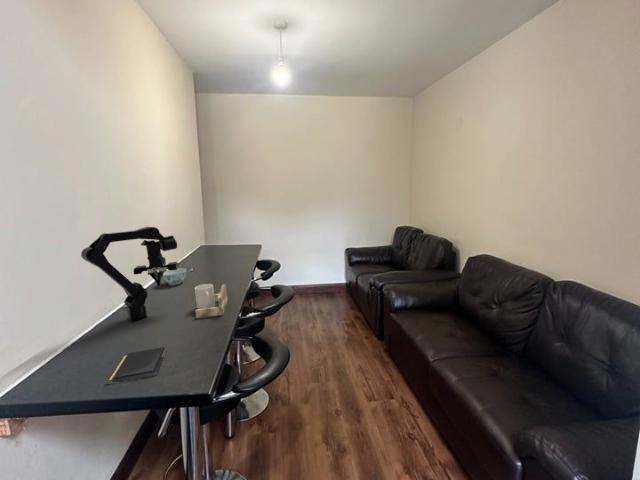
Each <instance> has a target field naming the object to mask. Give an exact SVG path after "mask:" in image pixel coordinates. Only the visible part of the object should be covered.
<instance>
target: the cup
mask: <svg viewBox="0 0 640 480" xmlns="http://www.w3.org/2000/svg"><path fill="white" fill-rule="evenodd" d="M194 292H195V294H194V295H195V301H196V306H197V308H196V309H204V308H212V307H216V302H215V297H214V294H215V291H214V285H213V284H212V283H204V284H199V285H197V286H195V287H194Z"/></svg>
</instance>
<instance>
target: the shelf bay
mask: <svg viewBox="0 0 640 480" xmlns="http://www.w3.org/2000/svg"><path fill="white" fill-rule="evenodd" d="M227 293H228V291H227V285H226V283H225V284H224V283H223V284H221V287H220V291H219V293H214V297H215V303H216V302H217V301H218V302H217V303H218V306H214V307H212V308H204V309H198V308H196V309H195V310H194V311H195V317H196V319H201V318H202V319H203V318H209V317H216V316H224V315H225V309H226V307H227V306H226V305H227V302H228V294H227Z"/></svg>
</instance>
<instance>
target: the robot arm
mask: <svg viewBox="0 0 640 480" xmlns="http://www.w3.org/2000/svg"><path fill="white" fill-rule="evenodd" d="M132 240H143V241H142V242H141V243H140V246H144V247H145V248H146V253H147V254H146V255H147V260H148V266H146V265H145V264H144V265H137V266H136V267H134V268H133V269H132V270H133V275H140V274H141V275H142V273H143V272H147V275H148V276H149V275H150V277H151V278H152V279H153V280H154V282H155V283H156V285H157V286H161V285H162V281H163V280H162V276H163V273H164V272H165V271H166V270H169V271H170V270H176V269H178V268H180V265H179V264H180V263H179V262H178V261H172V262H168V263H167V262H166V257H164V256H163V254H162V251H163V252H168V251H172V250H176V249H177V248H178V242H177V240H176V238H175V236H174V235H168V236H164V235H163V234H162V233H161V232H160V229H158V227H156V226H155V227H154V226H145V227H141V228H138V229H135V230H130V231H129V230H128V231H118V232H110V233H102V234H100V235H99V237H97V239H95V240H94V241H92V243H91V244H89V245H88V246H87V247H85V248H83V249H82V251H81V253H80V254H81V258H82V259H83V260H84V261H86V262H88V263H89V264H91V265H93V266H94V267H97V268H99V269H100V270H101V271H102V272H103V273H105V274H106V276H108V277H109V278H110V279H111V280H113V281H114V282H115V283H116V284H117V285H119V286H120V287H121V288H122V290H123V291H124V292H125V294H126V295H127V296H126V298H125V299H124V301H123V302H124V304H125V306H126V311H127V316H128V317H127V318H126V319H127V320H128V321H130V322H131V323H132V322H136V321H140V320H143V319H146V318H148V315H147V313H148V312H147V308H146V306H145V303H146V299H147V298H148V291H147V288H145V287H143V285H142V284H141V283H139V282H136V281H135V282H132V281H130V279H128V278H127V277H126V276H125V275H124V274H122V273H121V271H119V269H117V268H116V267H114V266H113V264H111V263H110V262H109V260H108V259H107V256H106V255H105V254H104V253H105V251H106V250H107V249H108V247H109V245H110V244H111V243H115V242H125V241H132ZM166 263H167V264H166Z"/></svg>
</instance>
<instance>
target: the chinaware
mask: <svg viewBox="0 0 640 480" xmlns="http://www.w3.org/2000/svg"><path fill="white" fill-rule="evenodd" d="M186 274H187V269H186V268H184V267H183V268H182V267H179V268H178V269H176V270H170V271H169V270H168V269H167V270H166V271H165V272H164V273H163V276H162V281H164V282H165V283H167V284H168V285H169V286H177V285H180V284H181V283H182V281H183V280H184V279H185V277H186Z"/></svg>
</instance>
